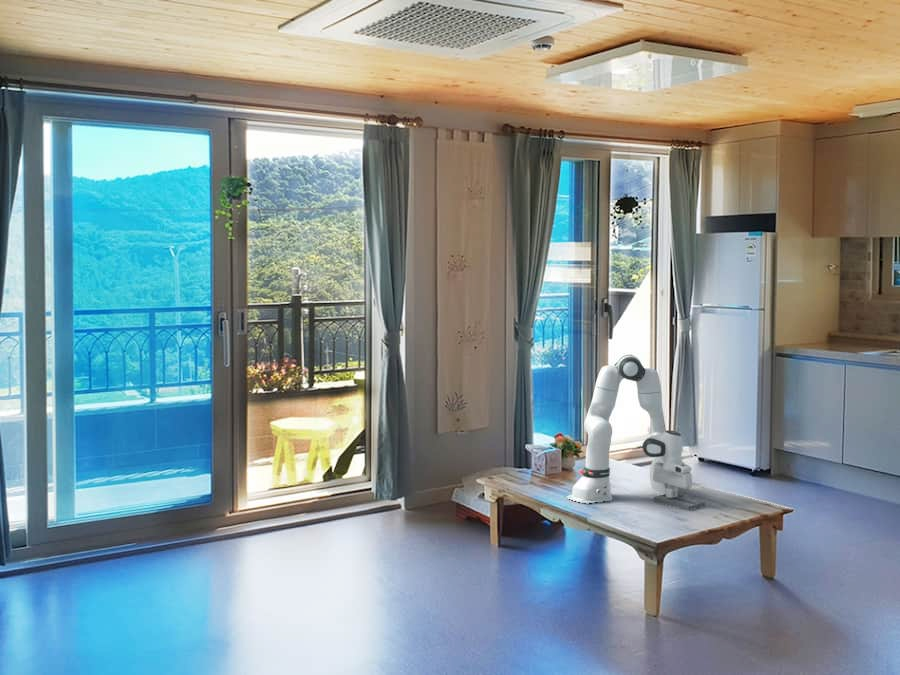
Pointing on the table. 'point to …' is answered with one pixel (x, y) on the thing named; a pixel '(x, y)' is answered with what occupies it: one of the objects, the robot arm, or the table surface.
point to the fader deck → (679, 501)
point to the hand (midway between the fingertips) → (671, 494)
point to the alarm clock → (657, 485)
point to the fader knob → (670, 492)
